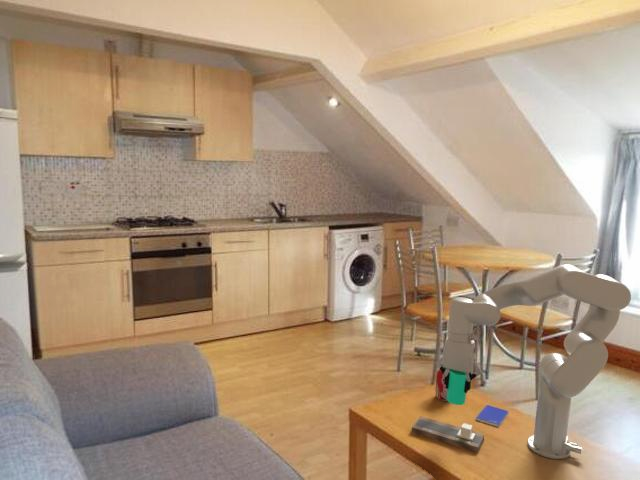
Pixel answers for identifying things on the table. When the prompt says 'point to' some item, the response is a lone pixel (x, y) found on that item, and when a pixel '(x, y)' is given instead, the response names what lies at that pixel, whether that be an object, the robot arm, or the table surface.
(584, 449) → the table surface
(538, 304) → the robot arm
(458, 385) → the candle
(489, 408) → the hard drive
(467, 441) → the switch board
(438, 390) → the soda can
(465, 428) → the switch tab
